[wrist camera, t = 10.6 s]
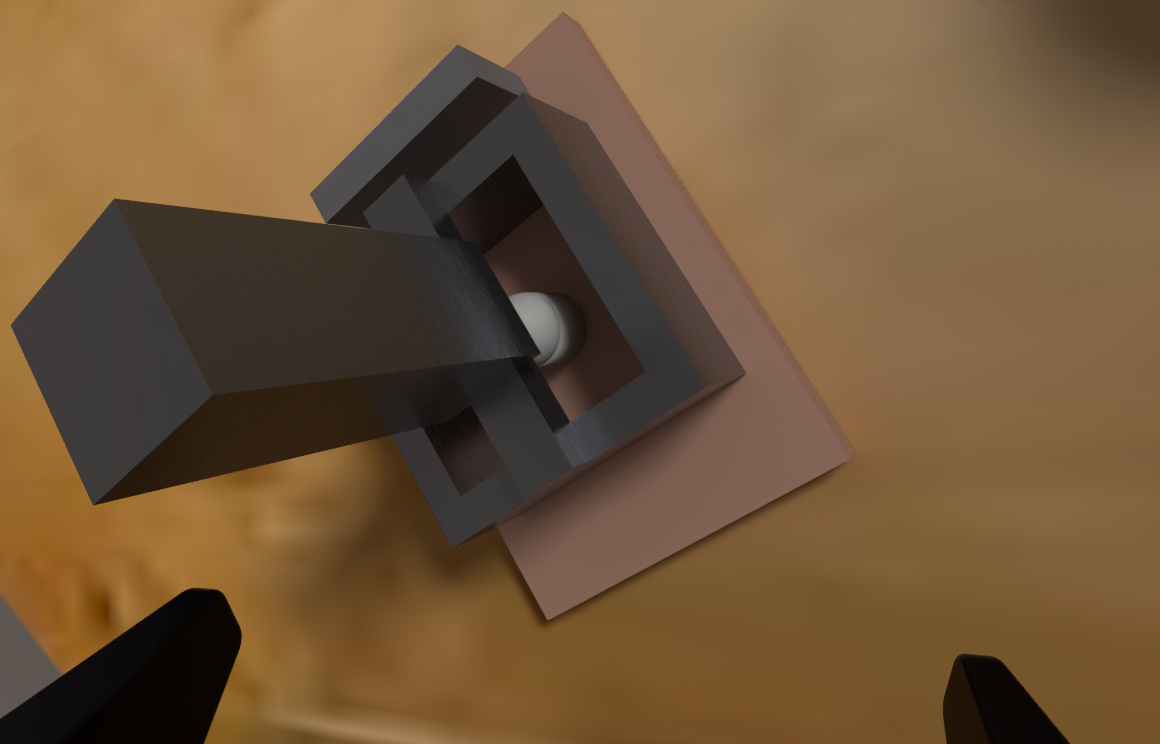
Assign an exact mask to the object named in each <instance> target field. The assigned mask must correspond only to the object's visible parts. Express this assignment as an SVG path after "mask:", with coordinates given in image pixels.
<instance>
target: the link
mask: <svg viewBox="0 0 1160 744" xmlns="http://www.w3.org/2000/svg"><path fill="white" fill-rule="evenodd" d="M543 205H544V206H545V208H546V209H547V211H548V213H549V214H550V216H551V217H552V219H553V221H554V222H555V224H556V226H557V227H558V229H559V231H560V232H561V234H562V235H563V237H564V239H565V240H566V242H567V244H568V245H569V247H570V249H571V250H572V252H573V253H574V255H575V257H576V258H577V260H578V262H579V263H580V265H581V267H582V268H583V270H584V271H585V273H586V275H587V276H588V278H589V280H590V281H591V283H592V284H593V286H594V288H595V289H596V291H597V293H598V294H599V296H600V298H601V299H602V301H603V302H604V304H605V306H606V307H607V309H608V311H609V312H610V314H611V316H612V317H613V319H614V320H615V322H616V324H617V325H618V327H619V329H620V330H621V332H622V334H623V335H624V337H625V338H626V340H627V342H628V343H629V345H630V347H631V348H632V350H633V352H634V353H635V355H636V356H637V358H638V360H639V361H640V363H641V365H642V366H643V368H644V370H645V371H646V372H645V373H643V374H642V375H640V376H639V377H637V378H636V379H634V380H633V381H631V382H630V383H628V384H627V385H625V386H624V387H622V388H621V389H619V390H618V391H616V392H615V393H613V394H612V395H610V396H609V397H607V398H606V399H604V400H603V401H601V402H600V403H599V404H597V405H596V406H594V407H593V408H591V409H590V410H588V411H587V412H585V413H584V414H582V415H581V416H579V417H578V418H576V419H575V420H573V421H572V422H570V421H569V419H568V417H567V416H566V414H565V412H564V411H563V409H562V407H561V405H560V404H559V402H558V400H557V399H556V397H555V395H554V393H553V392H552V390H551V388H550V387H549V385H548V383H547V381H546V380H545V378H544V376H543V375H542V373H541V371H540V369H539V368H538V366H537V364H536V363H535V361H534V359H535V358H536V357H537V356H539V355H540V354H541V352H540V350H539V349H538V347H537V345H536V344H535V342H534V340H533V338H532V337H531V335H530V333H529V332H528V330H527V328H526V327H525V325H524V323H523V321H522V320H521V318H520V316H519V315H518V313H517V311H516V310H515V308H514V306H513V304H512V303H511V301H510V299H509V298H508V296H507V294H506V293H505V291H504V289H503V287H502V286H501V284H500V282H499V281H498V279H497V277H496V276H495V274H494V272H493V270H492V269H491V267H490V265H489V264H488V262H487V260H486V258H485V257H484V255H485V254H486V253H487V252H488V251H489V250H491V249H492V248H493V247H494V246H495V245H497V244H498V243H499V242H500V241H501V240H503V239H504V238H505V237H506V236H507V235H508V234H510V233H511V232H512V231H513V230H514V229H516V228H517V227H518V226H519V225H520V224H522V223H523V222H524V221H525V220H526V219H528V218H529V217H530V216H531V215H532V214H533V213H535V212H536V211H537V210H538V209H539V208H541V207H542V206H543ZM363 214H364V216H365V218H366V219H367V221H368V223H369V225H370V226H371V228H372V230H371V229H362V228H354V227H346V226H338V225H329V224H321V223H313V222H304V221H296V220H288V219H279V218H271V217H263V216H254V215H246V214H238V213H230V212H221V211H213V210H205V209H196V208H188V207H180V206H171V205H163V204H155V203H146V202H138V201H130V200H121V199H114V200H113V201H112V202H111V203H110V204H109V206H108V207H107V208H106V209H105V211H104V212H103V213H102V214H101V215H100V217H99V218H98V219H97V220H96V222H95V223H94V224H93V225H92V226H91V228H90V229H89V230H88V231H87V233H86V234H85V235H84V236H83V237H82V239H81V240H80V241H79V242H78V244H77V245H76V246H75V247H74V248H73V250H72V251H71V252H70V253H69V255H68V256H67V257H66V258H65V259H64V261H63V262H62V263H61V264H60V266H59V267H58V268H57V269H56V270H55V272H54V273H53V274H52V275H51V277H50V278H49V279H48V280H47V281H46V283H45V284H44V285H43V286H42V288H41V289H40V290H39V291H38V292H37V294H36V295H35V296H34V297H33V299H32V300H31V301H30V302H29V303H28V305H27V306H26V307H25V308H24V310H23V311H22V312H21V313H20V314H19V316H18V317H17V318H16V319H15V321H14V322H13V323H12V324H11V327H12V329H13V331H14V334H15V336H16V338H17V340H18V342H19V344H20V347H21V349H22V351H23V353H24V355H25V358H26V360H27V362H28V364H29V366H30V369H31V371H32V373H33V375H34V377H35V379H36V382H37V384H38V386H39V388H40V390H41V393H42V395H43V397H44V399H45V401H46V404H47V406H48V408H49V410H50V412H51V414H52V417H53V419H54V421H55V423H56V425H57V428H58V430H59V432H60V434H61V436H62V439H63V441H64V443H65V445H66V447H67V449H68V452H69V454H70V456H71V458H72V460H73V463H74V465H75V467H76V469H77V471H78V473H79V476H80V478H81V480H82V482H83V484H84V487H85V489H86V491H87V493H88V495H89V498H90V500H91V502H92V504H93V505H97V504H101V503H106V502H110V501H114V500H118V499H123V498H127V497H131V496H135V495H139V494H144V493H148V492H152V491H156V490H161V489H165V488H169V487H173V486H177V485H182V484H186V483H190V482H194V481H199V480H203V479H207V478H211V477H216V476H220V475H224V474H228V473H232V472H237V471H241V470H245V469H249V468H254V467H258V466H262V465H266V464H271V463H275V462H279V461H283V460H287V459H292V458H296V457H300V456H304V455H309V454H313V453H317V452H321V451H326V450H330V449H334V448H338V447H342V446H347V445H351V444H355V443H359V442H364V441H368V440H372V439H376V438H381V437H385V436H389V435H391V436H392V437H393V439H394V441H395V443H396V445H397V447H398V449H399V450H400V452H401V454H402V456H403V458H404V460H405V462H406V463H407V465H408V467H409V469H410V471H411V473H412V475H413V476H414V478H415V480H416V482H417V484H418V486H419V488H420V489H421V491H422V493H423V495H424V497H425V499H426V501H427V502H428V504H429V506H430V508H431V510H432V512H433V514H434V515H435V517H436V519H437V521H438V523H439V525H440V527H441V528H442V530H443V532H444V534H445V536H446V538H447V540H448V541H449V543H450V545H451V547H452V548H454V547H456V546H459V545H461V544H463V543H465V542H467V541H469V540H471V539H473V538H475V537H477V536H479V535H481V534H483V533H485V532H487V531H489V530H491V529H493V528H495V527H497V526H499V525H502V524H504V523H506V522H508V521H510V520H512V519H514V518H516V517H518V516H520V515H522V514H523V513H525V512H527V511H528V510H530V509H531V508H533V507H535V506H536V505H538V504H539V503H541V502H542V501H544V500H546V499H547V498H549V497H550V496H552V495H554V494H555V493H557V492H558V491H560V490H562V489H563V488H565V487H566V486H568V485H569V484H571V483H573V482H574V481H576V480H577V479H579V478H581V477H582V476H584V475H585V474H587V473H589V472H590V471H592V470H593V469H595V468H597V467H598V466H600V465H601V464H603V463H604V462H606V461H608V460H609V459H611V458H612V457H614V456H616V455H617V454H619V453H620V452H622V451H624V450H625V449H627V448H628V447H630V446H631V445H633V444H635V443H636V442H638V441H639V440H641V439H643V438H644V437H646V436H647V435H649V434H651V433H652V432H654V431H655V430H657V429H659V428H660V427H662V426H663V425H665V424H666V423H668V422H670V421H671V420H673V419H674V418H676V417H678V416H679V415H681V414H682V413H684V412H686V411H687V410H689V409H690V408H692V407H693V406H695V405H697V404H698V403H700V402H701V401H703V400H705V399H706V398H708V397H709V396H711V395H713V394H714V393H716V392H717V391H719V390H721V389H722V388H724V387H725V386H727V385H728V384H730V383H732V382H733V381H735V380H736V379H738V378H740V377H741V376H743V375H744V374H746V372H745V370H744V368H743V367H742V365H741V364H740V362H739V361H738V359H737V357H736V356H735V354H734V353H733V351H732V350H731V348H730V346H729V345H728V343H727V342H726V340H725V339H724V337H723V335H722V334H721V332H720V331H719V329H718V328H717V326H716V324H715V323H714V321H713V320H712V318H711V317H710V315H709V313H708V312H707V310H706V309H705V307H704V306H703V304H702V302H701V301H700V299H699V298H698V296H697V295H696V293H695V291H694V290H693V288H692V287H691V285H690V284H689V282H688V280H687V279H686V277H685V276H684V274H683V273H682V271H681V269H680V268H679V266H678V265H677V263H676V262H675V260H674V258H673V257H672V255H671V254H670V252H669V251H668V249H667V247H666V246H665V244H664V243H663V241H662V240H661V238H660V236H659V235H658V233H657V232H656V230H655V229H654V227H653V225H652V224H651V222H650V221H649V219H648V218H647V216H646V214H645V213H644V211H643V210H642V208H641V207H640V205H639V203H638V202H637V200H636V199H635V197H634V196H633V194H632V193H631V191H630V189H629V188H628V186H627V185H626V183H625V182H624V180H623V178H622V177H621V175H620V174H619V172H618V171H617V169H616V167H615V166H614V164H613V163H612V161H611V160H610V158H609V156H608V155H607V153H606V152H605V150H604V149H603V147H602V145H601V144H600V142H599V141H598V139H597V138H596V136H595V134H594V133H593V131H592V130H591V128H590V127H589V125H588V123H586V122H584V121H582V120H580V119H578V118H576V117H574V116H572V115H570V114H567V113H565V112H563V111H561V110H559V109H557V108H555V107H553V106H551V105H549V104H546V103H544V102H542V101H540V100H538V99H536V98H534V97H532V96H530V95H527V94H525V93H523V92H522V93H521V94H520V95H519V96H518V97H517V98H516V99H515V100H514V101H513V102H512V103H510V104H509V105H508V106H507V107H506V108H505V109H504V110H503V111H502V112H501V113H500V114H499V115H498V116H497V117H496V118H494V119H493V120H492V121H491V122H490V123H489V124H488V125H487V126H486V127H485V128H484V129H483V130H482V131H481V132H480V133H478V134H477V135H476V136H475V137H474V138H473V139H472V140H471V141H470V142H469V143H468V144H467V145H466V146H465V147H464V148H462V149H461V150H460V151H459V152H458V153H457V154H456V155H455V156H454V157H453V158H452V159H451V160H450V161H449V162H447V163H446V164H445V165H444V166H443V167H442V168H441V169H440V170H439V171H438V172H437V173H436V174H435V175H434V176H433V177H431V178H430V179H429V180H426V179H422V178H417V177H413V176H408V175H404V174H403V175H402V176H401V177H400V178H399V179H398V180H397V181H395V182H394V183H393V184H392V185H391V186H390V187H389V188H388V189H387V190H386V191H385V192H384V193H383V194H382V195H381V196H380V197H379V198H378V199H377V200H376V201H375V202H374V203H373V204H372V205H370V206H369V207H368V208H367V209H366V210H365V211H364V212H363Z"/></svg>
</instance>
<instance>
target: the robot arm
mask: <svg viewBox="0 0 1160 744" xmlns="http://www.w3.org/2000/svg"><path fill="white" fill-rule="evenodd" d="M241 638H242V634H241V629H240V626H239V624H238V622H237V620H236V618H235V616H234V614H233V612H232V610H231V608H230V605H229V603H228V601H227V599H226V597H225V596H224V594H223V593H222V592H220V591H219V590H215V589H204V588H191V589H188V590H185V591H184V592H182V593H180V594H179V595H177V596H176V597H175V598H173V599H172V600H170V601H169V602H167V603H166V604H164V605H163V606H162V607H160V608H159V609H157V610H156V611H154V612H153V613H152V614H150V615H149V616H147V617H146V618H144V619H143V620H142V621H140V622H139V623H137V624H136V625H134V626H133V627H131V628H130V629H129V630H127V631H126V632H124V633H123V634H121V635H120V636H119V637H117V638H116V639H114V640H113V641H111V642H110V643H108V644H107V645H106V646H104V647H103V648H101V649H100V650H98V651H97V652H96V653H94V654H93V655H91V656H90V657H88V658H87V659H85V660H84V661H83V662H81V663H80V664H78V665H77V666H75V667H74V668H73V669H71V670H70V671H68V672H67V673H65V674H64V675H63V676H61V677H60V678H58V679H57V680H55V681H54V682H53V683H51V684H50V685H48V686H47V687H45V688H44V689H42V690H41V691H40V692H38V693H37V694H35V695H34V696H32V697H31V698H29V699H28V700H27V701H25V702H24V703H23V704H21V705H20V706H18V707H17V708H15V709H14V710H12V711H11V712H9V713H8V714H7V715H5V716H4V717H2V718H1V719H0V744H204V742H205V739H206V737H207V734H208V731H209V729H210V726H211V723H212V721H213V718H214V716H215V713H216V710H217V708H218V705H219V702H220V700H221V697H222V694H223V692H224V689H225V686H226V684H227V681H228V678H229V676H230V673H231V671H232V668H233V665H234V663H235V660H236V657H237V655H238V652H239V649H240V645H241ZM943 718H944V726H945V734H946V742H947V744H1070V743H1069V742H1068V741H1067V739H1066V738H1065V737H1064V736H1063V735H1062V733H1061V732H1060V731H1059V730H1058V728H1057V727H1056V726H1055V725H1054V724H1053V722H1052V721H1051V720H1050V719H1049V718H1048V716H1047V715H1046V714H1045V713H1044V711H1043V710H1042V709H1041V708H1040V707H1039V705H1038V704H1037V703H1036V702H1035V701H1034V699H1033V698H1032V697H1031V696H1030V695H1029V693H1028V692H1027V691H1026V690H1025V688H1024V687H1023V686H1022V685H1021V684H1020V682H1019V681H1018V680H1017V679H1016V678H1015V676H1014V675H1013V674H1012V673H1011V672H1010V670H1009V669H1008V668H1007V667H1006V665H1005V664H1004V663H1003V662H1002V661H1000V660H999V659H997V658H995V657H992V656H983V655H972V654H960V655H959V656H957V658H956V659H955V661H954V664H953V668H952V671H951V675H950V678H949V681H948V685H947V688H946V692H945V695H944V701H943Z"/></svg>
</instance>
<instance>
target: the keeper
mask: <svg viewBox="0 0 1160 744" xmlns="http://www.w3.org/2000/svg"><path fill="white" fill-rule="evenodd" d="M522 92H523V93H525V94H527V95H530V96H532V97H534V98H536V99H538V100H540V101H542V102H544V103H546V104H549V105H551V106H553V107H555V108H557V109H559V110H561V111H563V112H565V113H567V114H570V115H572V116H574V117H576V118H578V119H580V120H582V121H584V122H586V123H588V125H589V127H590V128H591V130H592V131H593V133H594V134H595V136H596V138H597V139H598V141H599V142H600V144H601V145H602V147H603V149H604V150H605V152H606V153H607V155H608V156H609V158H610V160H611V161H612V163H613V164H614V166H615V167H616V169H617V171H618V172H619V174H620V175H621V177H622V178H623V180H624V182H625V183H626V185H627V186H628V188H629V189H630V191H631V193H632V194H633V196H634V197H635V199H636V200H637V202H638V203H639V205H640V207H641V208H642V210H643V211H644V213H645V214H646V216H647V218H648V219H649V221H650V222H651V224H652V225H653V227H654V229H655V230H656V232H657V233H658V235H659V236H660V238H661V240H662V241H663V243H664V244H665V246H666V247H667V249H668V251H669V252H670V254H671V255H672V257H673V258H674V260H675V262H676V263H677V265H678V266H679V268H680V269H681V271H682V273H683V274H684V276H685V277H686V279H687V280H688V282H689V284H690V285H691V287H692V288H693V290H694V291H695V293H696V295H697V296H698V298H699V299H700V301H701V302H702V304H703V306H704V307H705V309H706V310H707V312H708V313H709V315H710V317H711V318H712V320H713V321H714V323H715V324H716V326H717V328H718V329H719V331H720V332H721V334H722V335H723V337H724V339H725V340H726V342H727V343H728V345H729V346H730V348H731V350H732V351H733V353H734V354H735V356H736V357H737V359H738V361H739V362H740V364H741V365H742V367H743V368H744V370H745V372H746V374H744V375H743V376H741V377H740V378H738V379H736V380H735V381H733V382H732V383H730V384H728V385H727V386H725V387H724V388H722V389H721V390H719V391H717V392H716V393H714V394H713V395H711V396H709V397H708V398H706V399H705V400H703V401H701V402H700V403H698V404H697V405H695V406H693V407H692V408H690V409H689V410H687V411H686V412H684V413H682V414H681V415H679V416H678V417H676V418H674V419H673V420H671V421H670V422H668V423H666V424H665V425H663V426H662V427H660V428H659V429H657V430H655V431H654V432H652V433H651V434H649V435H647V436H646V437H644V438H643V439H641V440H639V441H638V442H636V443H635V444H633V445H631V446H630V447H628V448H627V449H625V450H624V451H622V452H620V453H619V454H617V455H616V456H614V457H612V458H611V459H609V460H608V461H606V462H604V463H603V464H601V465H600V466H598V467H597V468H595V469H593V470H592V471H590V472H589V473H587V474H585V475H584V476H582V477H581V478H579V479H577V480H576V481H574V482H573V483H571V484H569V485H568V486H566V487H565V488H563V489H562V490H560V491H558V492H557V493H555V494H554V495H552V496H550V497H549V498H547V499H546V500H544V501H542V502H541V503H539V504H538V505H536V506H535V507H533V508H531V509H530V510H528V511H527V512H525V513H523V514H522V515H520V516H518V517H516V518H514V519H512V520H510V521H508V522H506V523H504V524H502V525H499V526H497V529H498V531H499V532H500V534H501V536H502V538H503V540H504V542H505V543H506V545H507V547H508V549H509V551H510V553H511V554H512V556H513V558H514V560H515V562H516V564H517V565H518V567H519V569H520V571H521V573H522V575H523V576H524V578H525V580H526V582H527V584H528V585H529V587H530V589H531V591H532V593H533V595H534V596H535V598H536V600H537V602H538V604H539V606H540V607H541V609H542V611H543V613H544V615H545V617H546V618H547V620H550V619H552V618H554V617H555V616H557V615H559V614H561V613H563V612H565V611H567V610H569V609H570V608H572V607H574V606H576V605H578V604H580V603H582V602H584V601H585V600H587V599H589V598H591V597H593V596H595V595H597V594H599V593H600V592H602V591H604V590H606V589H608V588H610V587H612V586H614V585H615V584H617V583H619V582H621V581H623V580H625V579H627V578H629V577H630V576H632V575H634V574H636V573H638V572H640V571H642V570H644V569H645V568H647V567H649V566H651V565H653V564H655V563H657V562H659V561H660V560H662V559H664V558H666V557H668V556H670V555H672V554H674V553H675V552H677V551H679V550H681V549H683V548H685V547H687V546H689V545H690V544H692V543H694V542H696V541H698V540H700V539H702V538H704V537H705V536H707V535H709V534H711V533H713V532H715V531H717V530H719V529H720V528H722V527H724V526H726V525H728V524H730V523H732V522H734V521H735V520H737V519H739V518H741V517H743V516H745V515H747V514H749V513H750V512H752V511H754V510H756V509H758V508H760V507H762V506H764V505H765V504H767V503H769V502H771V501H773V500H775V499H777V498H779V497H781V496H782V495H784V494H786V493H788V492H790V491H792V490H794V489H796V488H797V487H799V486H801V485H803V484H805V483H807V482H809V481H811V480H812V479H814V478H816V477H818V476H820V475H822V474H824V473H826V472H827V471H829V470H831V469H833V468H835V467H837V466H839V465H841V464H842V463H844V462H846V461H848V460H850V459H851V457H852V456H853V454H854V453H855V451H854V450H853V448H852V447H851V445H850V444H849V442H848V440H847V439H846V437H845V436H844V434H843V433H842V431H841V430H840V428H839V427H838V425H837V423H836V422H835V420H834V419H833V417H832V416H831V414H830V413H829V411H828V409H827V408H826V406H825V405H824V403H823V402H822V400H821V399H820V397H819V395H818V394H817V392H816V391H815V389H814V388H813V386H812V385H811V383H810V381H809V380H808V378H807V377H806V375H805V374H804V372H803V371H802V369H801V367H800V366H799V364H798V363H797V361H796V360H795V358H794V357H793V355H792V353H791V352H790V350H789V349H788V347H787V346H786V344H785V343H784V341H783V339H782V338H781V336H780V335H779V333H778V332H777V330H776V329H775V327H774V326H773V324H772V322H771V321H770V319H769V318H768V316H767V315H766V313H765V312H764V310H763V308H762V307H761V305H760V304H759V302H758V301H757V299H756V298H755V296H754V294H753V293H752V291H751V290H750V288H749V287H748V285H747V284H746V282H745V280H744V279H743V277H742V276H741V274H740V273H739V271H738V270H737V268H736V266H735V265H734V263H733V262H732V260H731V259H730V257H729V256H728V254H727V252H726V251H725V249H724V248H723V246H722V245H721V243H720V242H719V240H718V239H717V237H716V235H715V234H714V232H713V231H712V229H711V228H710V226H709V225H708V223H707V221H706V220H705V218H704V217H703V215H702V214H701V212H700V211H699V209H698V207H697V206H696V204H695V203H694V201H693V200H692V198H691V197H690V195H689V193H688V192H687V190H686V189H685V187H684V186H683V184H682V183H681V181H680V179H679V178H678V176H677V175H676V173H675V172H674V170H673V169H672V167H671V165H670V164H669V162H668V161H667V159H666V158H665V156H664V155H663V153H662V152H661V150H660V148H659V147H658V145H657V144H656V142H655V141H654V139H653V138H652V136H651V134H650V133H649V131H648V130H647V128H646V127H645V125H644V124H643V122H642V120H641V119H640V117H639V116H638V114H637V113H636V111H635V110H634V108H633V106H632V105H631V103H630V102H629V100H628V99H627V97H626V96H625V94H624V92H623V91H622V89H621V88H620V86H619V85H618V83H617V82H616V80H615V78H614V77H613V75H612V74H611V72H610V71H609V69H608V68H607V66H606V64H605V63H604V61H603V60H602V58H601V57H600V55H599V54H598V52H597V51H596V49H595V47H594V46H593V44H592V43H591V41H590V40H589V38H588V37H587V35H586V33H585V32H584V30H583V29H582V27H581V26H580V24H579V23H578V22H577V21H575V20H574V19H572V18H571V17H570V16H568V15H567V14H566V13H564V12H562V13H561V14H560V15H559V16H558V17H557V18H556V19H555V20H554V21H553V22H552V23H550V24H549V25H548V26H547V27H546V28H545V29H544V30H543V31H542V32H541V33H540V34H539V35H538V36H537V37H536V38H535V39H534V40H533V41H532V42H531V43H530V44H529V45H528V46H526V47H525V48H524V49H523V50H522V51H521V52H520V53H519V54H518V55H517V56H516V57H515V58H514V59H513V60H512V61H511V62H510V63H509V64H508V65H507V66H506V67H505V68H503V67H501V66H499V65H497V64H495V63H493V62H491V61H489V60H487V59H485V58H483V57H481V56H479V55H477V54H475V53H473V52H471V51H469V50H467V49H465V48H463V47H461V46H459V45H457V46H456V47H455V48H454V49H453V50H452V51H451V52H450V53H449V54H448V55H447V56H446V57H445V58H444V59H443V60H442V61H441V62H440V63H439V64H438V65H437V66H436V67H435V68H434V69H433V70H432V71H431V72H430V73H429V74H428V75H427V76H426V77H425V78H424V79H423V80H422V81H421V82H420V83H419V84H418V85H417V86H416V87H415V88H414V89H413V90H412V91H411V92H410V93H409V94H408V95H407V96H406V97H405V98H404V99H403V100H402V101H401V102H400V103H399V104H398V105H397V106H396V107H395V108H394V109H393V110H392V111H391V112H390V113H389V115H388V116H387V117H386V118H385V119H384V120H383V121H382V122H381V123H380V124H379V125H378V126H377V127H376V128H375V129H374V130H373V131H372V132H371V133H370V134H369V135H368V136H367V137H366V138H365V139H364V140H363V141H362V142H361V143H360V144H359V145H358V146H357V147H356V148H355V149H354V150H353V151H352V152H351V153H350V154H349V155H348V156H347V157H346V158H345V159H344V160H343V161H342V162H341V163H340V164H339V165H338V166H337V167H336V168H335V169H334V170H333V171H332V172H331V173H330V174H329V175H328V176H327V177H326V178H325V179H324V180H323V181H322V182H321V183H320V184H319V185H318V186H317V187H316V188H315V189H314V190H313V191H312V192H311V193H310V195H311V197H312V199H313V200H314V202H315V204H316V206H317V208H318V210H319V211H320V213H321V215H322V217H323V219H324V221H325V222H326V223H328V224H336V225H340V226H346V227H354V228H362V229H371V230H372V228H371V226H370V225H369V223H368V221H367V219H366V218H365V216H364V214H363V212H364V211H365V210H366V209H367V208H368V207H369V206H370V205H372V204H373V203H374V202H375V201H376V200H377V199H378V198H379V197H380V196H381V195H382V194H383V193H384V192H385V191H386V190H387V189H388V188H389V187H390V186H391V185H392V184H393V183H394V182H395V181H397V180H398V179H399V178H400V177H401V176H402V175H403V174H404V175H408V176H413V177H417V178H422V179H426V180H429V179H430V178H431V177H433V176H434V175H435V174H436V173H437V172H438V171H439V170H440V169H441V168H442V167H443V166H444V165H445V164H446V163H447V162H449V161H450V160H451V159H452V158H453V157H454V156H455V155H456V154H457V153H458V152H459V151H460V150H461V149H462V148H464V147H465V146H466V145H467V144H468V143H469V142H470V141H471V140H472V139H473V138H474V137H475V136H476V135H477V134H478V133H480V132H481V131H482V130H483V129H484V128H485V127H486V126H487V125H488V124H489V123H490V122H491V121H492V120H493V119H494V118H496V117H497V116H498V115H499V114H500V113H501V112H502V111H503V110H504V109H505V108H506V107H507V106H508V105H509V104H510V103H512V102H513V101H514V100H515V99H516V98H517V97H518V96H519V95H520V94H521V93H522ZM484 257H485V258H486V260H487V262H488V264H489V265H490V267H491V269H492V270H493V272H494V274H495V276H496V277H497V279H498V281H499V282H500V284H501V286H502V287H503V289H504V291H505V293H506V294H507V296H508V298H509V299H510V301H511V303H512V304H513V306H514V308H515V310H516V311H517V313H518V315H519V316H520V318H521V320H522V321H523V323H524V325H525V327H526V328H527V330H528V332H529V333H530V335H531V337H532V338H533V340H534V342H535V344H536V345H537V347H538V349H539V350H540V352H541V354H540V355H539V356H537V357H536V358H535V359H534V361H535V363H536V364H537V366H538V368H539V369H540V371H541V373H542V375H543V376H544V378H545V380H546V381H547V383H548V385H549V387H550V388H551V390H552V392H553V393H554V395H555V397H556V399H557V400H558V402H559V404H560V405H561V407H562V409H563V411H564V412H565V414H566V416H567V417H568V419H569V421H570V422H572V421H573V420H575V419H576V418H578V417H579V416H581V415H582V414H584V413H585V412H587V411H588V410H590V409H591V408H593V407H594V406H596V405H597V404H599V403H600V402H601V401H603V400H604V399H606V398H607V397H609V396H610V395H612V394H613V393H615V392H616V391H618V390H619V389H621V388H622V387H624V386H625V385H627V384H628V383H630V382H631V381H633V380H634V379H636V378H637V377H639V376H640V375H642V374H643V373H645V372H646V371H645V370H644V368H643V366H642V365H641V363H640V361H639V360H638V358H637V356H636V355H635V353H634V352H633V350H632V348H631V347H630V345H629V343H628V342H627V340H626V338H625V337H624V335H623V334H622V332H621V330H620V329H619V327H618V325H617V324H616V322H615V320H614V319H613V317H612V316H611V314H610V312H609V311H608V309H607V307H606V306H605V304H604V302H603V301H602V299H601V298H600V296H599V294H598V293H597V291H596V289H595V288H594V286H593V284H592V283H591V281H590V280H589V278H588V276H587V275H586V273H585V271H584V270H583V268H582V267H581V265H580V263H579V262H578V260H577V258H576V257H575V255H574V253H573V252H572V250H571V249H570V247H569V245H568V244H567V242H566V240H565V239H564V237H563V235H562V234H561V232H560V231H559V229H558V227H557V226H556V224H555V222H554V221H553V219H552V217H551V216H550V214H549V213H548V211H547V209H546V208H545V206H544V205H543V206H542V207H541V208H539V209H538V210H537V211H536V212H535V213H533V214H532V215H531V216H530V217H529V218H528V219H526V220H525V221H524V222H523V223H522V224H520V225H519V226H518V227H517V228H516V229H514V230H513V231H512V232H511V233H510V234H508V235H507V236H506V237H505V238H504V239H503V240H501V241H500V242H499V243H498V244H497V245H495V246H494V247H493V248H492V249H491V250H489V251H488V252H487V253H486V254H485V255H484Z"/></svg>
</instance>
